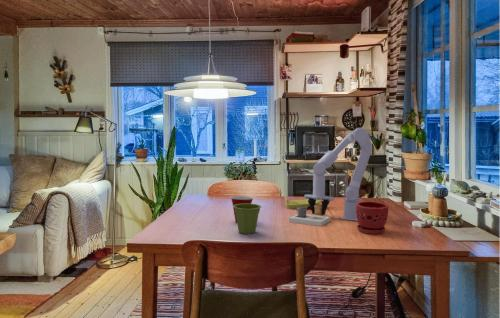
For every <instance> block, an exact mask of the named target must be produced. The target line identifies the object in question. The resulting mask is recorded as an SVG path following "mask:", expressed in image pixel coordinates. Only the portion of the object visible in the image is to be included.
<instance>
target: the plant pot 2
mask: <svg viewBox="0 0 500 318" xmlns="http://www.w3.org/2000/svg"><path fill="white" fill-rule="evenodd" d="M363 214H365V215H363ZM356 216H357V221H356V222H357V223H358V224H357V225H356V228H357V230H358V231H359V232H360V233H364V234H369V235H378V234H383V233H384V232H385V231H386V227H385V225H386V223H387V221H388V217H389V205H388V204H386V203H383V202H380V201H379V202H377V201H371V200H370V201H366V200H365V201H361V202H359V203H357V204H356Z"/></svg>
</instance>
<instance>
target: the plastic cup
mask: <svg viewBox="0 0 500 318" xmlns="http://www.w3.org/2000/svg"><path fill="white" fill-rule="evenodd" d="M230 199H231V202H232V203H231V204H232V209H233V215H234V219H235V223H236V222H237V217H236V213H235V208H234V207H233V206H234V205H236V204H253V200H254V197H252V196H245V195H244V196H242V195H239V196H238V195H236V196H235V195H233V196H230Z"/></svg>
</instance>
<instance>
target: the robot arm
mask: <svg viewBox="0 0 500 318" xmlns="http://www.w3.org/2000/svg"><path fill="white" fill-rule="evenodd" d="M356 142H357V143H358V144H359V146H360V148H361V151H360V153H359V156H358V159H357V162H356V165H355V168H354V171H353V174H352V177H351V179H350V181H349V185H347V187H346V188H345V191H344V192H345V198H344V200H343V216H341V218H340V219H341V220H347V221H356V222H358V221H357V216H356V204H357V203H359V202H362V201H360V200H361V199H360V198H359V197H360V188H361V187H360V186H361V184H362V179H363V177H364V174H365V171H366V168H367V165H368V163H369V160H370V156H371V154H372V151H373V145H372V142H371V139H370V134H369V133H368V132H367V130H366V129H365V128H363V127H357V128H355V129H354V130H353V131H351V132H350V133H348V134H347V135H346V136H345V137H344V138H343V139H342V140H341V141H340V142H339V143H338V144H337V145H336V146H335V148H334V149H333V150H327V151H325V152H324V155H322V157H321V158H320V159H318V160H317V162H316V163H314V165H313V167H312V171H313V178H312V187H313V188H312V194H304V196H303V197H304V199H303V200H306V199H309V200H308V203H309V205H310V206H309V208H310V209H311V213H312V214H311V215H314V213H315V208H314V205H315V204H316V200H322V201H321V202H320V203H321V205H322V215H323V216H326V211H327V209H328V206H329V205H330V202H334V199H335V198H334V196H330V195H326V194H325V193H326V190H325V189H326V177H325V172H326V169H329V168H330V167H331V166H332V165H333V164H334V163H335V162H336V161H337V160H338V155H339V154H341V152H342V151H343V150H344V149H345V148H346V147H348V146H349V144H353V143H356ZM363 215H365V214H363Z"/></svg>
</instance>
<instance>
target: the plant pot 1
mask: <svg viewBox="0 0 500 318" xmlns="http://www.w3.org/2000/svg"><path fill="white" fill-rule="evenodd" d="M233 207H234V208H235V213H236V217H237V231H238V233H240V234H244V235H245V234H246V235H251V234H255V233H256V232H257V231H256V230H257V225H258V221H259V220H258V219H259V214H260V210H261V208H262V206H261V205H260V204H256V203H251V204H236V205H234V206H233V205H232V208H233Z"/></svg>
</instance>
